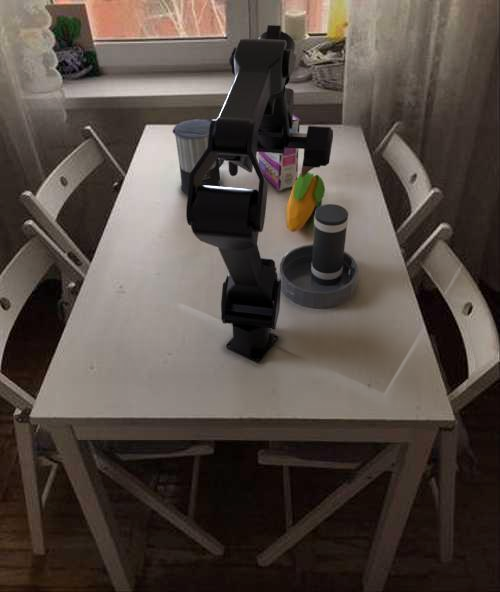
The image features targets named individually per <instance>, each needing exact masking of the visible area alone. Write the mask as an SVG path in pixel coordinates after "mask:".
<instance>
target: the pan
mask: <svg viewBox="0 0 500 592" xmlns="http://www.w3.org/2000/svg"><path fill="white" fill-rule="evenodd" d="M312 255H313V243H311V244H305V245H301V246H298V247H295V248H293V249H291V250H290V251H287V252H286V253H285V255H284V256H283V257H282V258H281V260H280V263H279V279H281V293H282V294H283V295H284V296H285V297H286V298H287V299H289V300H290V301H291V302H293V303H294V304H297V305H300V306H302V307H305V308H310V309H329V308H334V307H338V306H341V305H343V304H344V303H346V302H347V301H348V300H350V299H351V298H352V297H353V295H354V294H355V293H356V289H357V284H358V275H359V267H358V263H357V261H356V260H355V258H353V256H351V255H350V254H349V252H347V251H346V250H344V258H343V270H342V277H341V280H340V281H339V282H338V283H337V284H335V285H330V286H324V285H320V284H318V283H316V282H315V281H314V280H313V279H312V277H311V272H312V270H311V267H312Z"/></svg>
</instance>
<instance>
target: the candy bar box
mask: <svg viewBox="0 0 500 592" xmlns="http://www.w3.org/2000/svg"><path fill="white" fill-rule="evenodd" d="M300 122H301V119H300V118H299V117H297V116H296V115H294V114H293V127H292V129H290V133H300V126H301V125H300V124H301V123H300ZM299 150H300V149H299V148H285V153H284V154H282V153H268V152H258V163H259V165H260V167H261V169H262V171H263V174H264V176H265V178H266V180H267V181H269V182H270V184H272V185H273V186H274V187H275V188H276V189H277V190H278V191H279V192H282V191H286V190H290V189H292V188H293V185H294V183H295V180H296V179H298V171H299V170H298V169H299Z"/></svg>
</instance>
